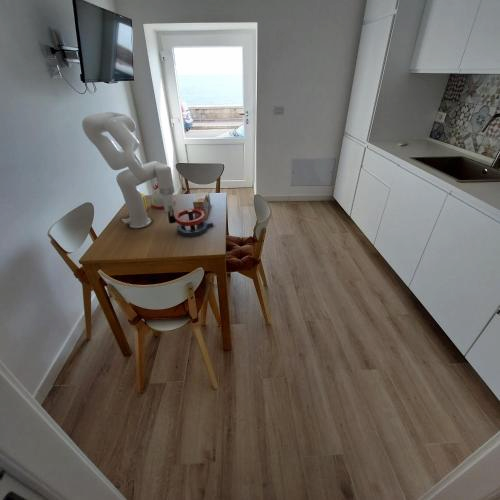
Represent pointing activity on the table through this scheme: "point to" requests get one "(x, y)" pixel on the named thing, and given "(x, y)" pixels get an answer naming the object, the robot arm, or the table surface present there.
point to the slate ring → (195, 233)
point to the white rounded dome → (157, 199)
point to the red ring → (191, 222)
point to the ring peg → (194, 227)
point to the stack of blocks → (202, 203)
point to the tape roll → (144, 202)
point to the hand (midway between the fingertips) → (172, 221)
